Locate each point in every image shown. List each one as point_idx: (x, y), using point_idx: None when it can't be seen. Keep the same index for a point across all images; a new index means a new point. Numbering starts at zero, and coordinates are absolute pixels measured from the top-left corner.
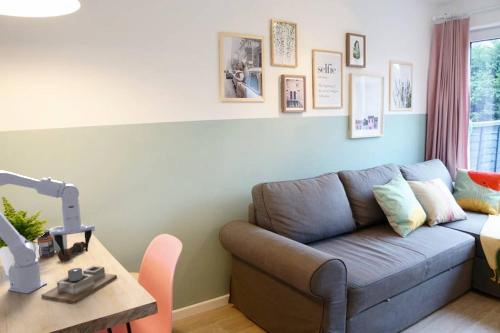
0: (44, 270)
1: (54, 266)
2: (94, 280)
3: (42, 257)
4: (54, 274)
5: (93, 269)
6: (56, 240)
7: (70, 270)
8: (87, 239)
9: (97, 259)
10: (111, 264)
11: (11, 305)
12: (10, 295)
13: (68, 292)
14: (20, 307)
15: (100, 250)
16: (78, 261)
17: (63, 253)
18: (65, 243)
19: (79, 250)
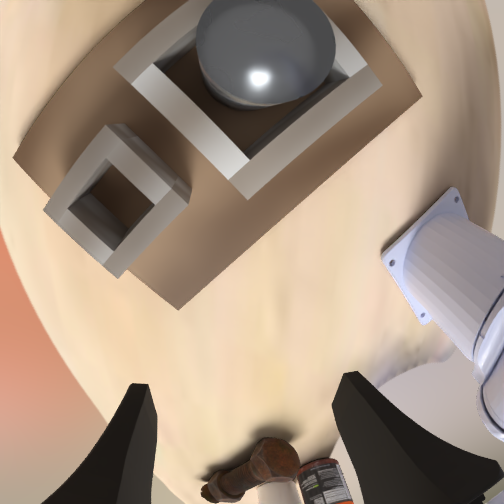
0: None
1: (314, 413)
2: (127, 124)
3: (333, 459)
4: (330, 349)
5: (120, 240)
6: (494, 467)
7: (311, 67)
8: (86, 494)
9: None
10: (71, 347)
11: (489, 112)
12: (484, 212)
13: None
14: (468, 66)
15: None
16: (224, 427)
17: (361, 382)
18: (264, 501)
19: (222, 476)
